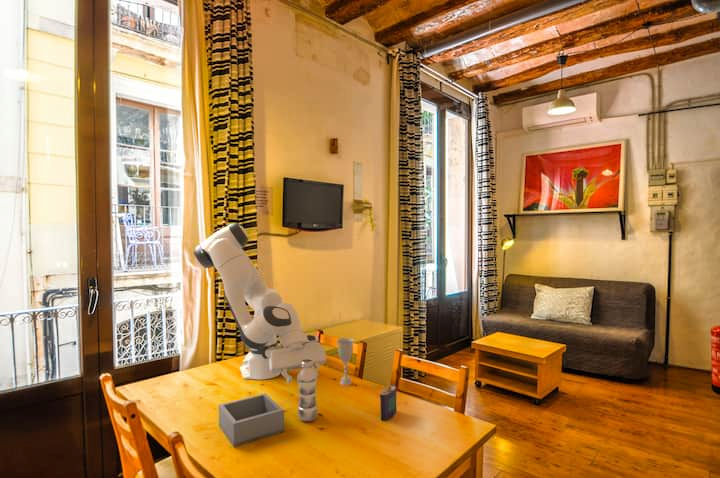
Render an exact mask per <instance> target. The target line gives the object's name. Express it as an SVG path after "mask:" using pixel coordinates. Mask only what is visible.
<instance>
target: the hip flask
mask: <svg viewBox="0 0 720 478" xmlns="http://www.w3.org/2000/svg"><path fill="white" fill-rule="evenodd" d="M386 386H387V387H386V390H384V391H381V392H380V394H379V399H380V402H379V403H380V421H381V422H388V421H389V420H391V419H393V418H394V416H395V415H396V414H397V386H394V385H390V384H387V385H386Z"/></svg>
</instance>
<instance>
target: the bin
mask: <svg viewBox="0 0 720 478" xmlns="http://www.w3.org/2000/svg"><path fill="white" fill-rule="evenodd" d="M218 427H219V428H220V430H221V431H222V432H223V434H224V435H225V437H226V438H227V440H228V441H229V443H230V444H231V445H232V447H233V448H237V447H240V446H243V445H246V444H249V443H252V442H255V441H258V440H261V439H264V438H265V439H266V438H269V437H271V436H274V435H277V434H278V435H279V434H281V433H283V432H285V410H284V408H283V407H281V406H280V405H279V404H278V403H277V402H276V401H274V400H273V399H272V398H271V397H270V396H269V395H267V393H262V394H256V395H254V396H253V395H252V396H250V397H249V396H248V397H245V398H241V399H237V400H231V401H229V402H225V403H221V404H218Z"/></svg>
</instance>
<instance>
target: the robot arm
mask: <svg viewBox="0 0 720 478" xmlns="http://www.w3.org/2000/svg"><path fill="white" fill-rule="evenodd" d="M248 242H249V235H248V232H247V230H246V229H245V228H244V227H243V226H242V225H241V224H239V223H237V222H233V223H230V224H228V225H227V226H225V227H224V228H221V229H220V230H217V231H216V232H214V233H212V235H210V236H209V237H208V238H206V239H205V240H203V242H201V243H199V244H197V245H196V246H195V247H194V248H193V249H194V250H193V255H194V258H195V260H196V262H197V263H198V264H199V265H200V266H201V267H203V268H204V269H210V268H214V267H215V270H216V271H217V272H218V274H219V276H220V278H221V281H222V284H223V288H224V289H223V290H224V291H223V293H224V299H225V302H226V304H227V305H228V308H229V310H230V312H231V313H230V314H231V315H232V318H233V319H234V321H235V323H236V325H237V328H238V330H239V335H240V339H241V342H242V343H243V345H244V346H245V347H247V348H249V352H248V353H247V354H246V355H245V356H244V359H242V363H241V364H242V365H241V366H240V367H239V370H240V373H241V375H242V378H243V379H244V380H245V379H246V380H247V379H251V380H258V381H259V380H260V381H261V380H269V379H273V378H276V377H278V376H279V375H282V376H283V378H285V380H286V382H287V384H290V383H292V382H293V377H292V375H289V373H287V372H289V371H295V370H301V369H302V367H301V365H302V360H305V359H311V360H313V367H312V368H313V369H314V371H315V372H316V375H317V378H318V377H320V376H319V375H320V374H319V372H318V370H319V366H324V364H325V363H326V361H327V358H328V357H327V354H326V351H325V349H324V346H323V345H322V344H321V343H320V342H319V336H317V335H314V334H307V333H304V331H303V329H302V328H301V322H300V318H299V315H298V313H297V310H296V308H295V307H294V305H292V304H291V303H288V302H283V298H282V296H281V295H280V294H279V292H278V291H276V290H275V289H273V288H269V287H268V286H267V285H266V284H265V282H264V280H263V279H262V276H261V273H260V271H259V270H258V268H257V267H256V265H255V263H253V261H252V260H251V258H250V257H249V256H248V254H247V253H246V252H245V251H244V250H243V249H242V248H244V249H245V246H246V245H247V244H249V243H248ZM246 303H247V304H248V306H249V307H250V308H251V309H253V310H254V315H253V317H252V315H251V312H250V311H249V308H248V306H247V305H246ZM277 336H278V337H279V342H280V345H278V344H279V343H278V339H277Z"/></svg>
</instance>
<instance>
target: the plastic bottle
mask: <svg viewBox="0 0 720 478" xmlns="http://www.w3.org/2000/svg"><path fill="white" fill-rule="evenodd" d="M301 367H302V368H301V369H299V372H298V373H297V378H296V379H297V384H298V392H299V401H298V409H297V416H298V418H299V419H300V421H303V422H312V421H314V420H316V418H317V417H318V415H319V413H318V412H319V411H318V406H317V398H316V397H317V395H316V394H317V393H316V392H317V391H316V389H317V387H316V386H317V380H318V379H317V378H318V377H317V375H316V372H315V369H314V368H313V360H311V359H305V360H302V365H301Z"/></svg>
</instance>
